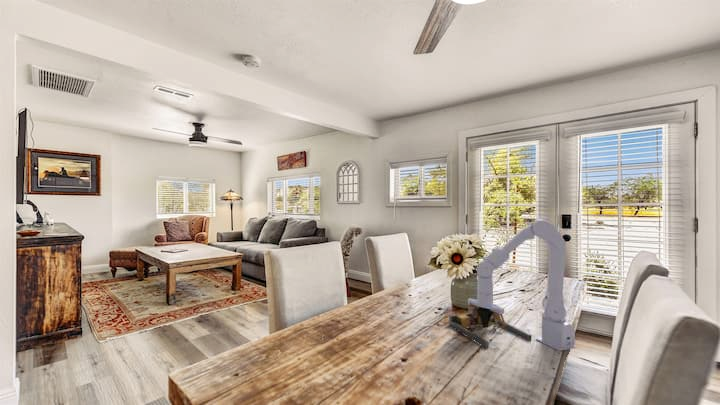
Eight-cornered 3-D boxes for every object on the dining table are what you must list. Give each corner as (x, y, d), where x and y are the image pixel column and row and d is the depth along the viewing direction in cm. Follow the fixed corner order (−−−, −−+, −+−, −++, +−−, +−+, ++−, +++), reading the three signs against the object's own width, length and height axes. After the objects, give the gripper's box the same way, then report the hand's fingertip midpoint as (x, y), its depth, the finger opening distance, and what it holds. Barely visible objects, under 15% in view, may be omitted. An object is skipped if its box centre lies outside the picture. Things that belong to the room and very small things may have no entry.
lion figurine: (470, 324, 119) (469, 300, 122) (467, 325, 123) (466, 302, 127) (510, 328, 116) (508, 304, 120) (506, 329, 121) (504, 305, 125)
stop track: (531, 340, 110) (531, 329, 110) (485, 348, 104) (485, 336, 104) (489, 319, 130) (489, 309, 130) (448, 325, 123) (448, 315, 123)
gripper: (508, 295, 114) (508, 331, 114) (475, 286, 126) (475, 319, 126) (497, 298, 110) (498, 335, 110) (464, 289, 122) (464, 322, 122)
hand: (485, 327), depth 118 cm, fingers closed, pressing on lion figurine
